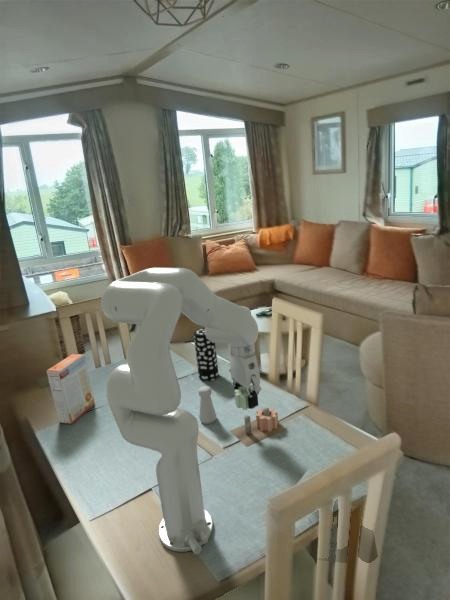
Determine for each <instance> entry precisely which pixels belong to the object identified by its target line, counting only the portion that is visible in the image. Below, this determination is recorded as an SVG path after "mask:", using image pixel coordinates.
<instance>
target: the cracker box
mask: <svg viewBox="0 0 450 600" xmlns="http://www.w3.org/2000/svg"><path fill="white" fill-rule="evenodd" d="M46 375H47V379H48V380H47V381H48V384H49V388H50V392H51V394H52V399H53V403H54V407H55V411H56V415H57V419H58V422H59V423H61V424H66V425H67V424H68V425H72V424H73V423H74V422H76V421H77V420H78V419H79V418H81V416H82V415H84V414H85V413H87V411H88V410H90V409H91V408H92V407H93V406H94V405H95V404H96V403H95V399H94V394H93V388H92V384H91V380H90V379H91V378H90V375H89V370H88V366H87V362H86V357H85V354H80V353H79V354H78V353H72V354H70V355H69V356H67V357H66V358H64V359H63V360H61V361H59V362H58V363H56V364H55V365H53V366H52V367H50V368H48V369H47V370H46Z"/></svg>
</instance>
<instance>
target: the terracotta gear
mask: <svg viewBox="0 0 450 600" xmlns="http://www.w3.org/2000/svg"><path fill="white" fill-rule="evenodd" d="M264 408H265V407H262V409H258V410H256V413H255V420H256V425H257V428H260V430H261V431H264V430H268V432H270V431H272V429H277V428H278V426H277V425H278V422H279V419H278V418H279V416H278V410H275V409H274V408H273V407H269V415H270V416H264V411H263V409H264Z"/></svg>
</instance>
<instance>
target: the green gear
mask: <svg viewBox="0 0 450 600" xmlns="http://www.w3.org/2000/svg"><path fill="white" fill-rule="evenodd" d="M249 386H251V384H250V385H249ZM250 390H251V392H252V391H254V389H253V387H252V388H250ZM233 392H234V400H235V406H236V408H237V409H242V411H247V409H249V407H248V396H249V395H248V392H247V389H246V388H245V387H242V386H240V387H238V390H236V389H235V391H233ZM255 408H256V407H254V408H251V410H253V409H255Z"/></svg>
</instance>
